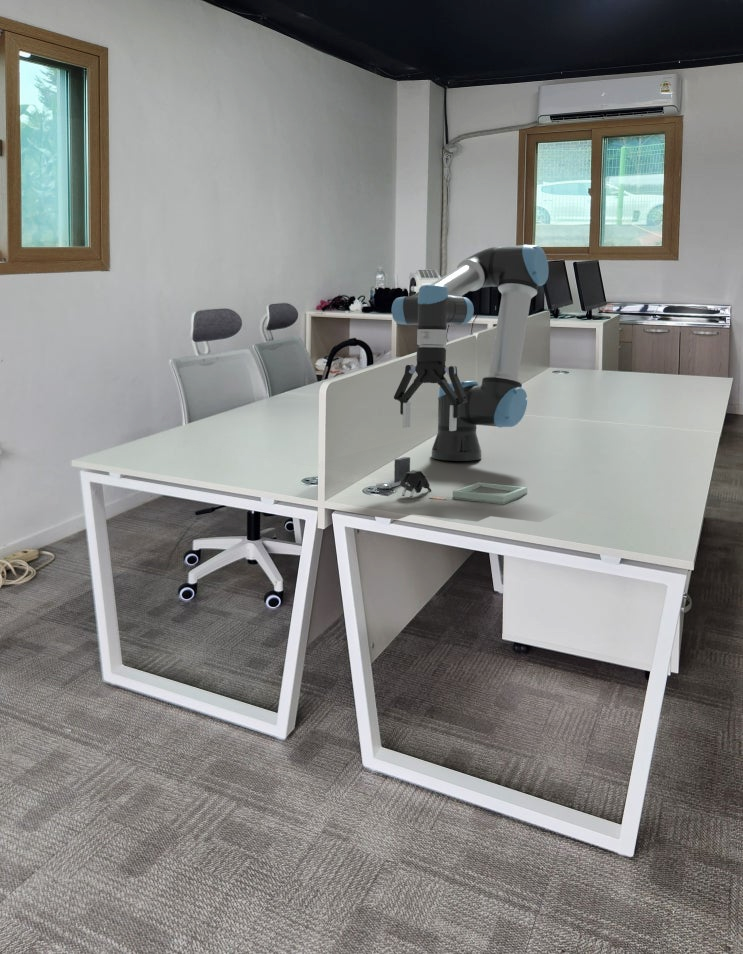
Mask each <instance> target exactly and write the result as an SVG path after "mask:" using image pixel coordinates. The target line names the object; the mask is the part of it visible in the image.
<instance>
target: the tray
mask: <svg viewBox="0 0 743 954" xmlns="http://www.w3.org/2000/svg"><path fill="white" fill-rule="evenodd" d="M479 487H483V488H490V489H496V490H502V491H509V492H508V493H506V492H505V493H502V492H501V493H499V492H497V493H496V492H490V493H489V492H487V493H486V492H485V493H484V492H483V493H482V492H472V491H474V490H476V489H478V488H479ZM526 494H528V487H527V486H517V485H516V486H515V485H507V484H505V485H504V484H496V483H488V482H475V483H473V484H470V485H467V486H463V487H461V488H458V489H455V490H452V499H454V500H461V501H470V502H478V503H488V504H498V505H505V504H509V503H511V502H513V501H516V500H518V499H520V498H521V497H522V496H524V495H526Z"/></svg>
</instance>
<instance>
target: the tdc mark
mask: <svg viewBox="0 0 743 954" xmlns="http://www.w3.org/2000/svg"><path fill="white" fill-rule="evenodd" d="M429 499H432V500H439V501H440V500H441V501H445V500H446V498H443V497H435V496H430V497H429Z"/></svg>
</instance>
